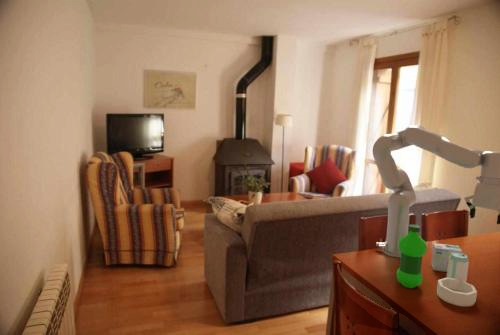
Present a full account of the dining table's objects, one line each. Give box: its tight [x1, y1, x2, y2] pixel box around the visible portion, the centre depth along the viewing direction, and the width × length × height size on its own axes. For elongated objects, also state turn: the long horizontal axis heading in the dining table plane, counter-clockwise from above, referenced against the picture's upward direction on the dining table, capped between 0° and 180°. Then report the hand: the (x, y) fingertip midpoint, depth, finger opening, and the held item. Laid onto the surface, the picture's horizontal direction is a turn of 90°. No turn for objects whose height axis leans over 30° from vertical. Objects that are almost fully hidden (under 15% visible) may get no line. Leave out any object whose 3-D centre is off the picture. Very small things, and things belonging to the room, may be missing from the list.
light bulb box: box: [430, 242, 463, 273], centre depth 153 cm, size 11×7×11 cm, turn 71°
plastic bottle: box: [396, 223, 428, 289], centre depth 137 cm, size 10×10×25 cm
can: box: [446, 252, 470, 282], centre depth 141 cm, size 7×7×12 cm
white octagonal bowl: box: [436, 277, 478, 308], centre depth 129 cm, size 12×12×5 cm
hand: (485, 220), depth 144 cm, fingers open, 9 cm apart
